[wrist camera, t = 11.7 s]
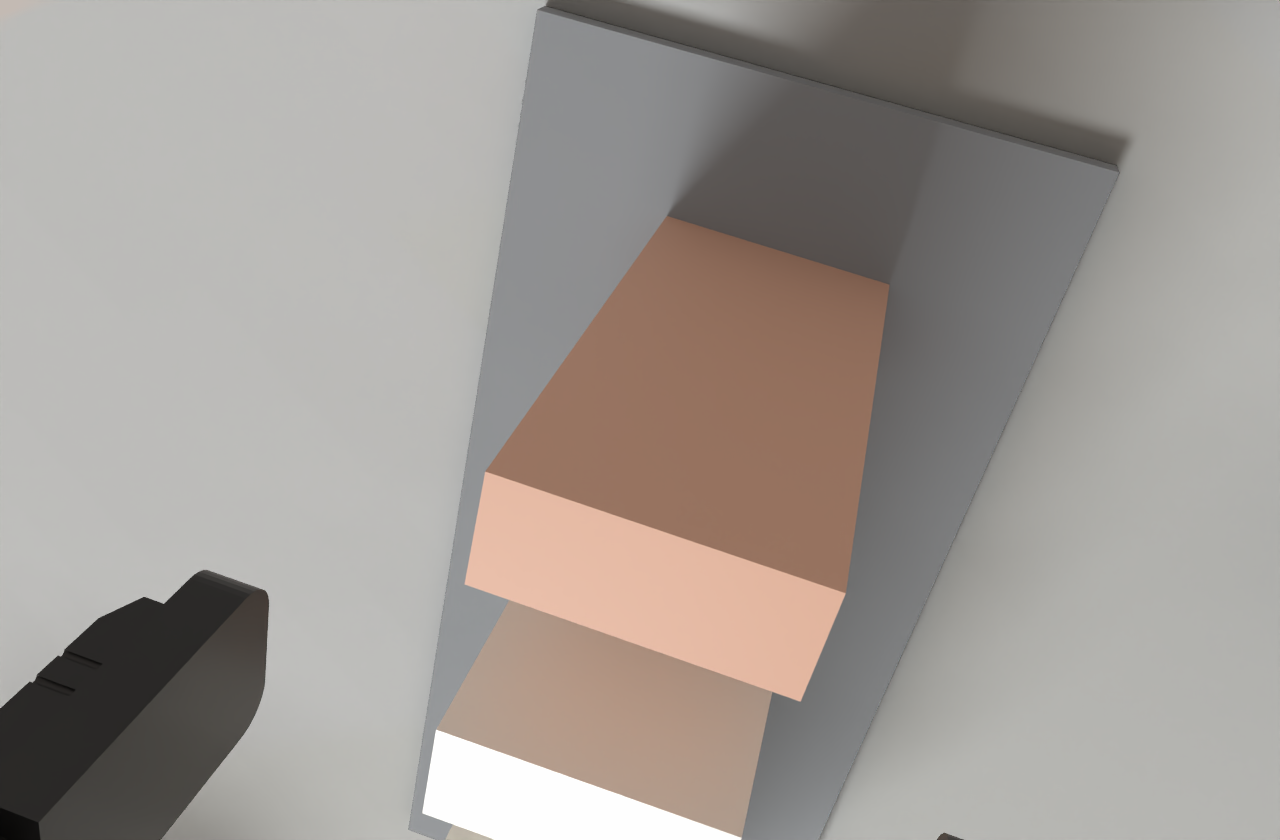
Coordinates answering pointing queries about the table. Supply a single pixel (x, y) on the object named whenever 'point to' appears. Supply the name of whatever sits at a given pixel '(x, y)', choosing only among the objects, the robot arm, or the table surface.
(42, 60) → the table surface
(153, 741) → the robot arm
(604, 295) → the slate mat
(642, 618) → the terracotta tile
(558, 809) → the ivory tile
